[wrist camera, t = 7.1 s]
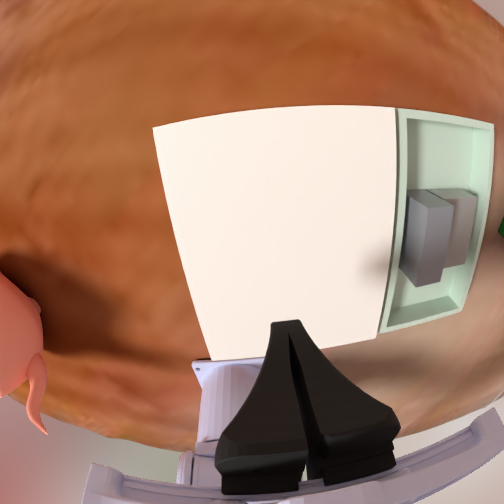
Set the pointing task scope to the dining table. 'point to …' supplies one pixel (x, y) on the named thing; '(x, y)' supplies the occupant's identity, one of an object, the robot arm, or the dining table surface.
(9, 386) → the teapot
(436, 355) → the dining table surface
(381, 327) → the box
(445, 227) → the tile
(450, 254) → the tile
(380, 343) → the dining table surface
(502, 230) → the milk carton
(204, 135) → the board
